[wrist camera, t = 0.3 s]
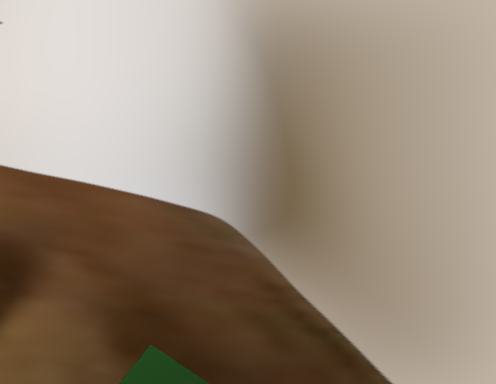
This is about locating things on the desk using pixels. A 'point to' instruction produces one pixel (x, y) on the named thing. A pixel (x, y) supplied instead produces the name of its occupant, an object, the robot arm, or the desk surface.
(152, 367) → the clamp
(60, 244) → the desk surface
